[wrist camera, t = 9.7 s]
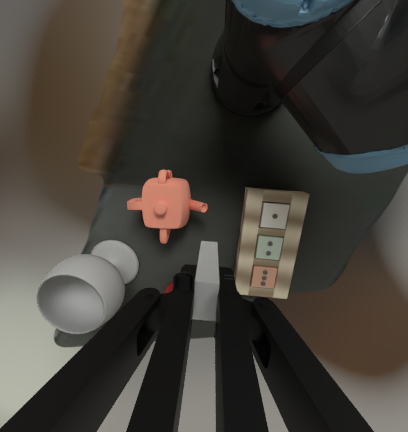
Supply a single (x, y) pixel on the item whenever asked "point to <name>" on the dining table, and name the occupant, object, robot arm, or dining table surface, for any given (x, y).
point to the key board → (252, 228)
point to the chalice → (87, 287)
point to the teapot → (166, 203)
